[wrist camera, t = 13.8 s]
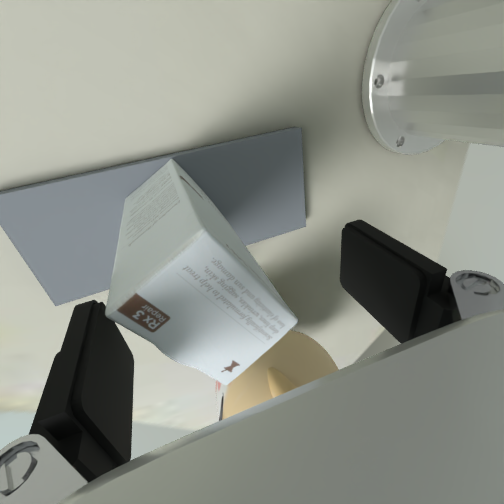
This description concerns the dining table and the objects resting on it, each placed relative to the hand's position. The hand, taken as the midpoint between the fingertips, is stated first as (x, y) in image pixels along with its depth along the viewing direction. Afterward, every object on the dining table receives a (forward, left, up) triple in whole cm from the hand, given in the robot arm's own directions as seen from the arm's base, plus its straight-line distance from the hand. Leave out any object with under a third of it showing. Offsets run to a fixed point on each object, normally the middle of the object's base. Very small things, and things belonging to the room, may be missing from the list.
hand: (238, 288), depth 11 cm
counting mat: (+1, +1, -12) cm, 12 cm away
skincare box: (+1, 0, -11) cm, 11 cm away
